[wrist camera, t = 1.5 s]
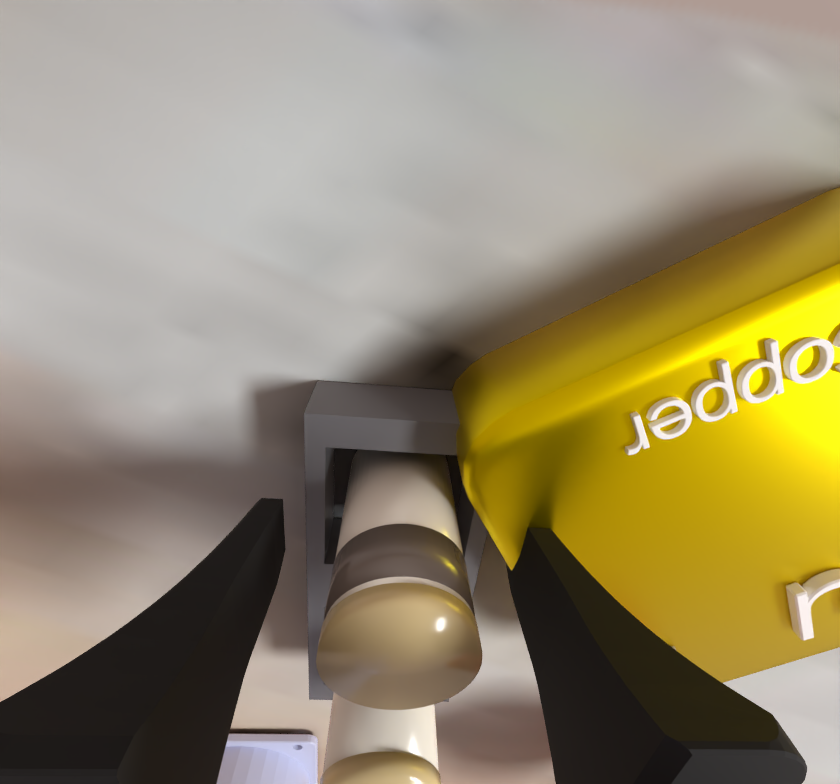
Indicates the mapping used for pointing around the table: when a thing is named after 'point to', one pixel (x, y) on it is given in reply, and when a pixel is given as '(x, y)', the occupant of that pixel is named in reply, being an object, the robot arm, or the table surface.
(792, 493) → the element tile
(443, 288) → the table surface
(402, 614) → the fuse
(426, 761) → the cylinder
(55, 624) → the table surface
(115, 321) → the table surface
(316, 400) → the fuse block
